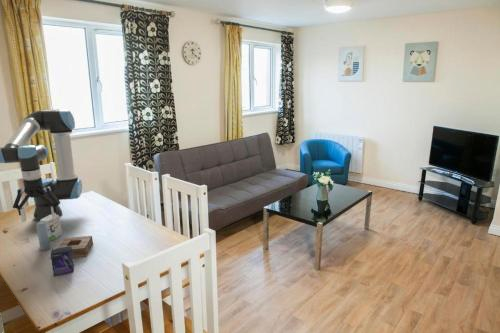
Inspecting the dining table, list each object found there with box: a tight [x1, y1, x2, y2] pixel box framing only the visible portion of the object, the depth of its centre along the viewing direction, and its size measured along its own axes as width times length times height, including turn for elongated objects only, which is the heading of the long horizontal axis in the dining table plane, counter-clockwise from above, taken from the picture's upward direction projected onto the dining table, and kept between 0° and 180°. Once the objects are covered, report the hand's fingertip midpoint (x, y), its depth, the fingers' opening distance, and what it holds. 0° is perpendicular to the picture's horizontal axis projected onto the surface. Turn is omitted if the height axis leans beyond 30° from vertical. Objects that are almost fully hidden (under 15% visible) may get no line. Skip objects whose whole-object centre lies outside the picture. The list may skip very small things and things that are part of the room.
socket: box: [57, 235, 94, 260], centre depth 169 cm, size 13×13×5 cm
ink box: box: [39, 214, 63, 242], centre depth 183 cm, size 9×5×12 cm, turn 168°
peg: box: [35, 221, 51, 252], centre depth 171 cm, size 4×4×14 cm
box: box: [50, 246, 75, 277], centre depth 152 cm, size 8×6×11 cm
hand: (39, 220), depth 168 cm, fingers open, 13 cm apart
